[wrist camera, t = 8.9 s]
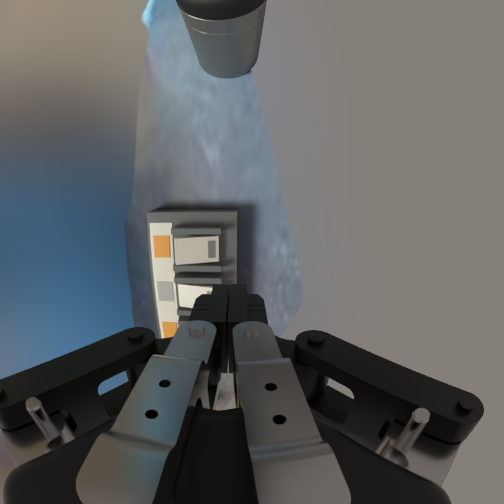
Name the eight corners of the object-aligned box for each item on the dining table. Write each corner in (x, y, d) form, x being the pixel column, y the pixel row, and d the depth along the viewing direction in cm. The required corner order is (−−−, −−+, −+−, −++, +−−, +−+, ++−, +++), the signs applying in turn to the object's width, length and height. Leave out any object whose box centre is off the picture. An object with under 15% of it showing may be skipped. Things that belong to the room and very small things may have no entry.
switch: (173, 237, 36) (174, 238, 35) (216, 234, 38) (218, 236, 37) (175, 262, 37) (175, 265, 36) (217, 259, 39) (219, 261, 38)
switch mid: (180, 281, 39) (177, 284, 38) (219, 285, 38) (217, 288, 37) (182, 303, 40) (179, 306, 39) (219, 308, 39) (217, 311, 38)
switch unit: (153, 210, 40) (141, 214, 35) (237, 209, 40) (236, 213, 35) (166, 344, 46) (159, 360, 41) (237, 346, 46) (237, 363, 42)
